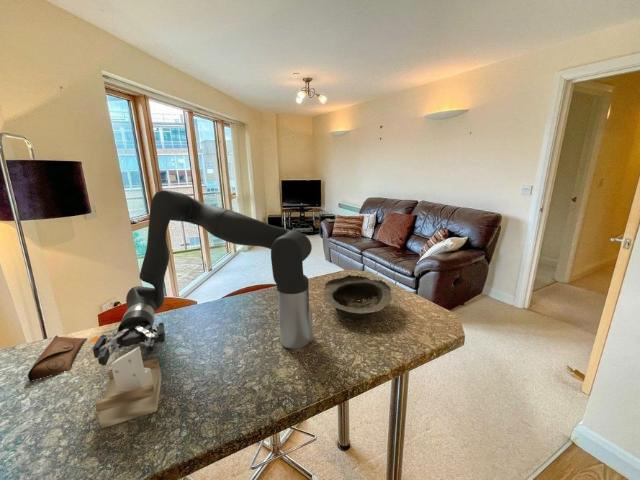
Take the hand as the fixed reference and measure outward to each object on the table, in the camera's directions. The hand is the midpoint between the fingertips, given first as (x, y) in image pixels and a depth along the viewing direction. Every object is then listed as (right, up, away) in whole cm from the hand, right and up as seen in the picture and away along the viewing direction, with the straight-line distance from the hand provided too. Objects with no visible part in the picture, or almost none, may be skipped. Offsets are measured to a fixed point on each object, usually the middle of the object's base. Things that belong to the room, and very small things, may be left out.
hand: (126, 356), depth 62 cm
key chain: (-25, -6, +25) cm, 36 cm away
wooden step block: (+1, -11, +2) cm, 11 cm away
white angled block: (+1, -7, +1) cm, 7 cm away
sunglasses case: (-31, -8, +18) cm, 37 cm away
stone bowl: (+57, 0, +41) cm, 70 cm away
